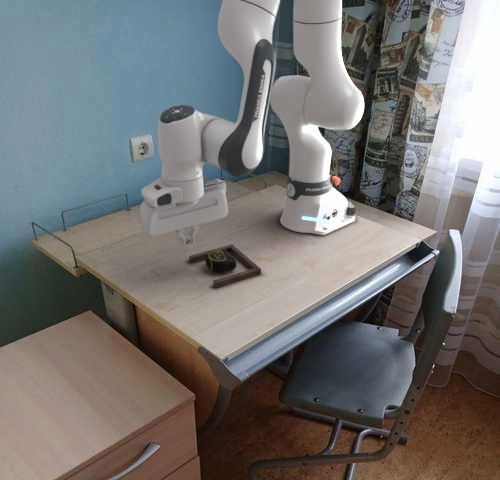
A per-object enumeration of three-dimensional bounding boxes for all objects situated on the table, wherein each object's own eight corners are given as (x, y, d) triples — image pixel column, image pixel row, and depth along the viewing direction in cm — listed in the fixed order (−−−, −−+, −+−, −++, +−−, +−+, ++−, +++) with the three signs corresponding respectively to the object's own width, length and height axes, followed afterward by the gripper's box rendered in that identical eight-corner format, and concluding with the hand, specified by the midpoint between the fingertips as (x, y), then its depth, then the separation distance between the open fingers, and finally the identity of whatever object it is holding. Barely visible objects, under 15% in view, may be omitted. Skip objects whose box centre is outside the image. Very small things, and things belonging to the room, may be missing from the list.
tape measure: (237, 272, 127) (237, 259, 125) (212, 278, 125) (211, 264, 123) (226, 259, 132) (226, 246, 130) (202, 264, 130) (201, 251, 128)
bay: (232, 249, 137) (232, 244, 136) (261, 274, 127) (261, 268, 126) (189, 261, 131) (188, 255, 130) (215, 288, 121) (215, 282, 120)
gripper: (218, 172, 118) (220, 226, 126) (133, 191, 109) (142, 247, 118) (232, 181, 113) (233, 237, 122) (145, 202, 105) (152, 260, 113)
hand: (187, 242), depth 120 cm, fingers closed
